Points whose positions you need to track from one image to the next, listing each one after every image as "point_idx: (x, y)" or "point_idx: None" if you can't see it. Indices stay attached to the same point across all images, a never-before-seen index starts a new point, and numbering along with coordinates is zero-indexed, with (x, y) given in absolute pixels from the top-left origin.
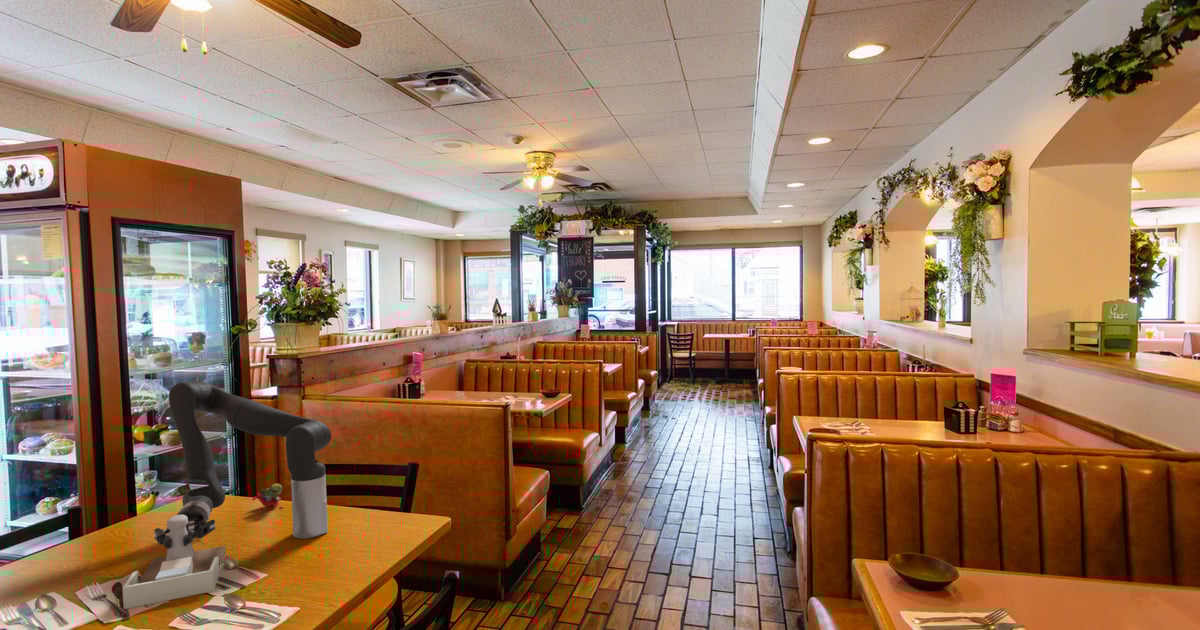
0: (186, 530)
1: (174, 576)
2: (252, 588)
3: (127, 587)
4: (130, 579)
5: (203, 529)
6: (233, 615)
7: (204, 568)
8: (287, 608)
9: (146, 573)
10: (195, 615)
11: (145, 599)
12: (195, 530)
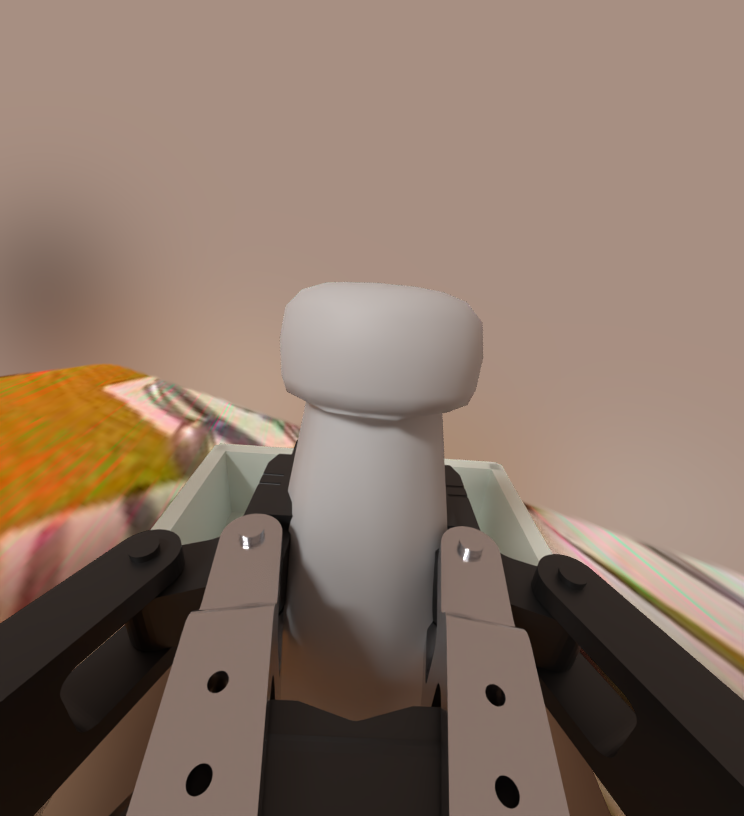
0: (299, 450)
1: None
2: (120, 475)
3: (485, 462)
4: (517, 507)
5: (59, 710)
6: (216, 409)
7: None
8: (122, 392)
9: (575, 775)
10: (285, 433)
11: None
12: (199, 584)
